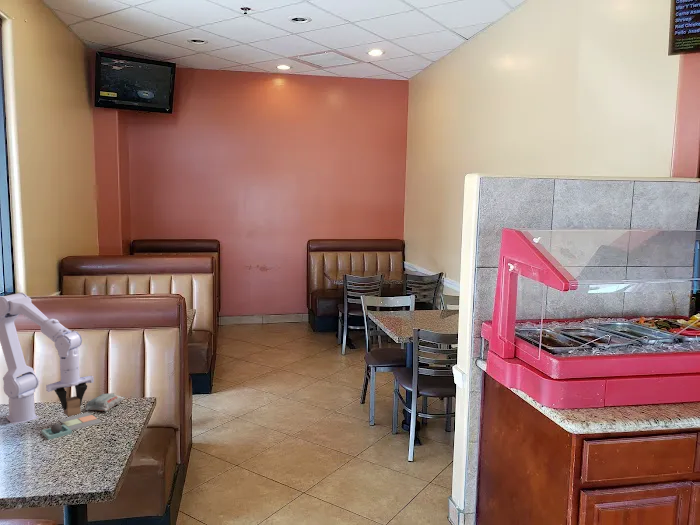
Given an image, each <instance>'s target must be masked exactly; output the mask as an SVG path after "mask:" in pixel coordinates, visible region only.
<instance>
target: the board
mask: <svg viewBox="0 0 700 525" xmlns="http://www.w3.org/2000/svg"><path fill="white" fill-rule="evenodd" d="M58 422H60V423H61V425H64V424H65V425H66V426H67V427H68V428H69V429H71V430H72V431H76V430H78V429H79V430H80V429H83V428H87V427H90V426H93V425H94V426H95V425H98V424H102V423H103V422H102V421H101V420H100V419H98V418H97V417H95V416H94V415H93V414H92V413H90V412H88V411H87V412H86V413H82V414H81V413H80V414H76V415H72V416H67V417H64V418H61V419H58Z"/></svg>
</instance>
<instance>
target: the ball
mask: <svg viewBox="0 0 700 525" xmlns="http://www.w3.org/2000/svg"><path fill="white" fill-rule="evenodd" d="M61 425H62V424H60V423H54V424H52V425H51V427H50V428H51V432H52V433H54V434H57V433H59V432H60V431H61V430H62V426H61Z"/></svg>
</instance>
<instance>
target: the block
mask: <svg viewBox="0 0 700 525" xmlns="http://www.w3.org/2000/svg"><path fill="white" fill-rule="evenodd" d="M66 405H67V409H66V410H64V409H63V414H65V416H67V417H72V416H76V415H80V414H81V413H82V412H81V411H82V410H81V406H80V399H79V398H78V397H76V395H75V396H71V397H66Z"/></svg>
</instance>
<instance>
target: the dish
mask: <svg viewBox="0 0 700 525" xmlns="http://www.w3.org/2000/svg"><path fill="white" fill-rule="evenodd" d="M60 425H61V426H62V430H61V431H60V432H59V433H57V434H54V433H52V432H51V427H50V428H49V427H48V428H45V429H41V434H42V435H43V437H45V438H46V439H47V440H52V439H56V438H60V437H64V436H68V435H72V433H73V432H72V431H73V430H71V429H69V428H68V427H67V426H66V425H65V424H64V425H63V424H60Z"/></svg>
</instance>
